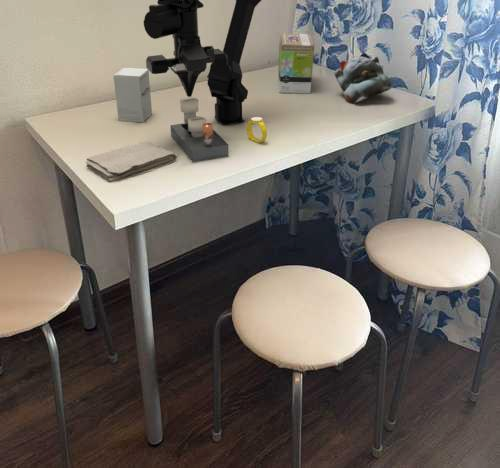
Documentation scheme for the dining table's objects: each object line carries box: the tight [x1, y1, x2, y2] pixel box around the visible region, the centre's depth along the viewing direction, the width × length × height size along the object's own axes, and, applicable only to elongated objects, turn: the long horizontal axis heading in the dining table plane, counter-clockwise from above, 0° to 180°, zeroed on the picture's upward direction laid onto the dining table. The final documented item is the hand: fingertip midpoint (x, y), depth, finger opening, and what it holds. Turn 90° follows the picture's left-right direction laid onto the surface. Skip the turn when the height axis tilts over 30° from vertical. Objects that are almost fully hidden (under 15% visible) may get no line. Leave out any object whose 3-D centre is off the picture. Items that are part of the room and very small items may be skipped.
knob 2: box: [188, 115, 207, 138], centre depth 141 cm, size 4×4×6 cm
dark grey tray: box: [170, 122, 230, 163], centre depth 142 cm, size 9×17×3 cm, turn 23°
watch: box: [246, 116, 268, 144], centre depth 144 cm, size 6×3×6 cm, turn 43°
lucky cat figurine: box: [333, 52, 393, 105], centre depth 172 cm, size 15×12×14 cm
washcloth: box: [85, 140, 178, 182], centre depth 133 cm, size 12×18×3 cm, turn 133°
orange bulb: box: [202, 122, 214, 146], centre depth 134 cm, size 2×2×5 cm
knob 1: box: [179, 96, 199, 124], centre depth 144 cm, size 4×4×6 cm
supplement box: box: [113, 67, 153, 123], centre depth 156 cm, size 7×7×13 cm
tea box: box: [277, 33, 315, 94], centre depth 180 cm, size 15×10×15 cm
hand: (189, 96), depth 142 cm, fingers closed
